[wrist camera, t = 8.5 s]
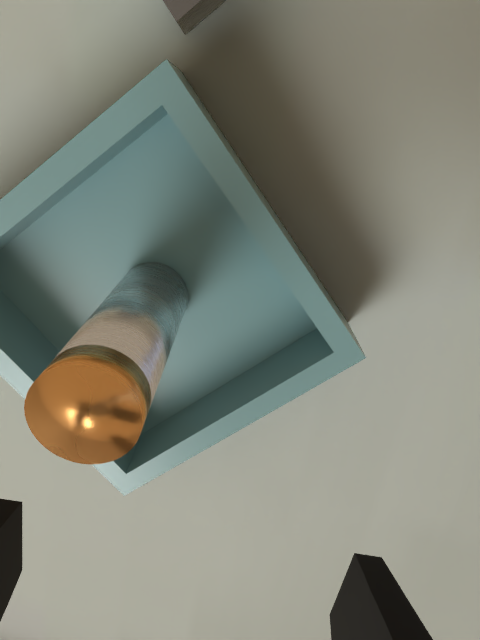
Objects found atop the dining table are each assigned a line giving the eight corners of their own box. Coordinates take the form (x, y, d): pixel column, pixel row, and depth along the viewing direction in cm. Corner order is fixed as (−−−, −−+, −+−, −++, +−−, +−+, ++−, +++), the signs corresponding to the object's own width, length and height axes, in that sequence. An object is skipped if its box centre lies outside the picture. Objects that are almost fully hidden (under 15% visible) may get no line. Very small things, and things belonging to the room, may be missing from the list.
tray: (181, 71, 15) (166, 58, 12) (348, 323, 18) (365, 357, 16) (-43, 257, 18) (-97, 281, 15) (140, 447, 21) (124, 495, 18)
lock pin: (160, 248, 17) (87, 343, 9) (201, 303, 17) (166, 431, 10) (106, 286, 17) (-1, 403, 10) (149, 337, 18) (79, 481, 11)
